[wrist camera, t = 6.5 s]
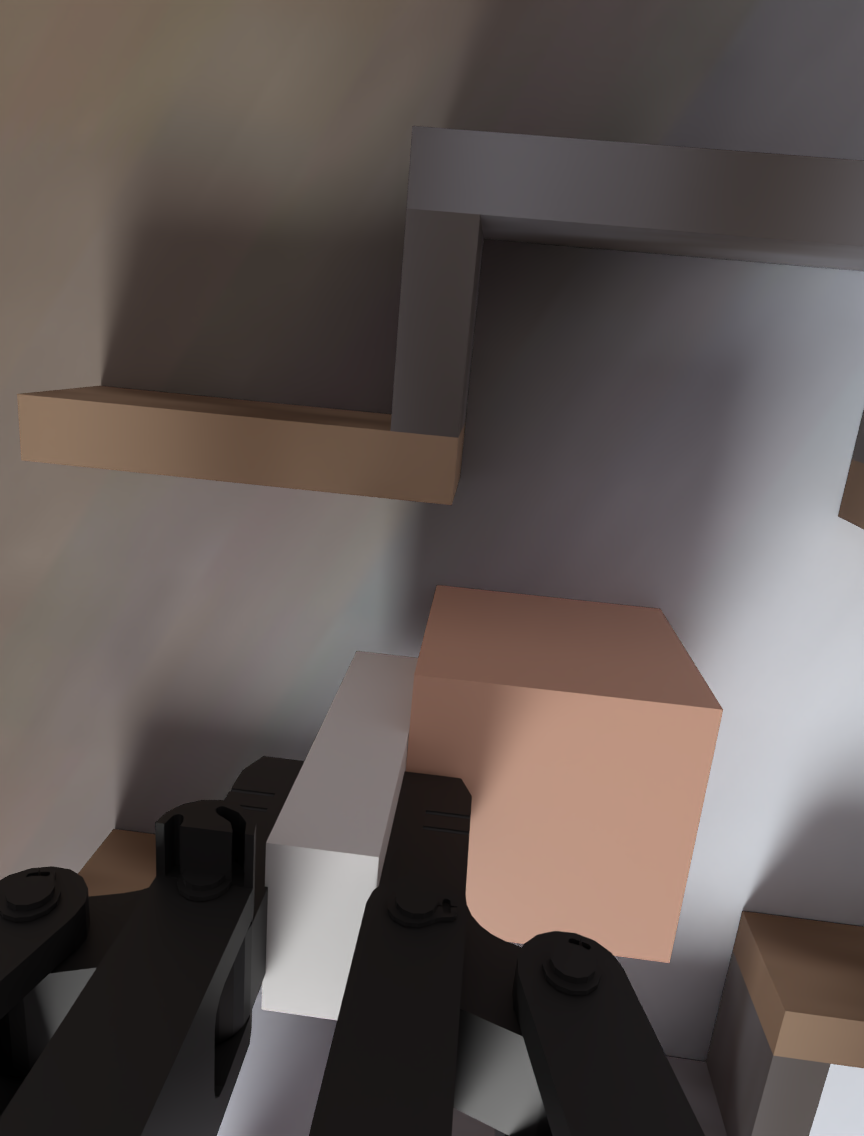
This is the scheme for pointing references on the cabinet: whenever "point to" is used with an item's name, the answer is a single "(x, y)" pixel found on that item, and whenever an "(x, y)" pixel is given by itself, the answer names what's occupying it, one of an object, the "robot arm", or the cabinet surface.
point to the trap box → (432, 471)
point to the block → (567, 761)
